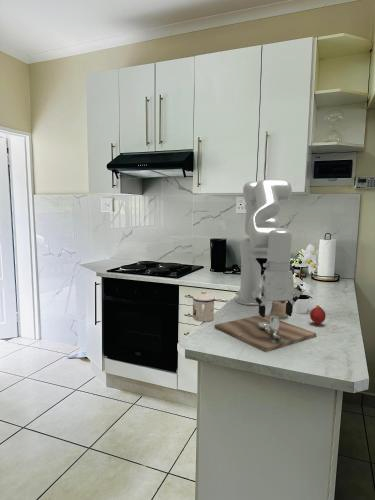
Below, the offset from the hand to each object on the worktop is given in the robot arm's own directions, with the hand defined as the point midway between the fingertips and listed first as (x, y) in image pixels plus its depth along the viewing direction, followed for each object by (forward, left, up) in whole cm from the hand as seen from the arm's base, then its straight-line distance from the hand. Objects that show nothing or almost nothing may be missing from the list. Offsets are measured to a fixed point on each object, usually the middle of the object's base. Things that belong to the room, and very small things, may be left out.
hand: (275, 315), depth 116 cm
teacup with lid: (-31, -8, -9) cm, 33 cm away
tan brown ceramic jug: (-18, +23, -9) cm, 31 cm away
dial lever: (-3, +1, -7) cm, 8 cm away
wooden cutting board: (-8, +3, -9) cm, 12 cm away
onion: (-3, +28, -9) cm, 30 cm away
